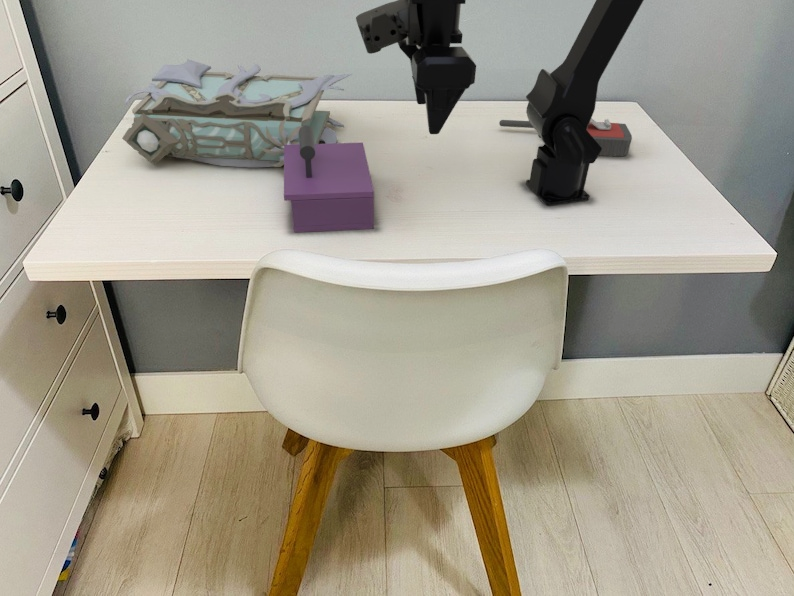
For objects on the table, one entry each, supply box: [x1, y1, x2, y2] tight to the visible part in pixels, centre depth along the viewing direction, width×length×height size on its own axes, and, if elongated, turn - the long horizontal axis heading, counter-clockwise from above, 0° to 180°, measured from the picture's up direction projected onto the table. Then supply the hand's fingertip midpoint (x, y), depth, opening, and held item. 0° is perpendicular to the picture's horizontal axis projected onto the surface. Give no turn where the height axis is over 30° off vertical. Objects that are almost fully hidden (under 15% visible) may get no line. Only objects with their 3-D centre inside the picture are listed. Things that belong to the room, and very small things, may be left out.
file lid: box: [283, 125, 375, 202], centre depth 80 cm, size 10×14×5 cm
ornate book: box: [121, 58, 353, 168], centre depth 96 cm, size 23×10×30 cm
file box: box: [290, 196, 375, 233], centre depth 83 cm, size 10×14×4 cm
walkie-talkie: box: [498, 118, 633, 157], centre depth 100 cm, size 9×4×20 cm
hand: (427, 118), depth 80 cm, fingers open, 9 cm apart
